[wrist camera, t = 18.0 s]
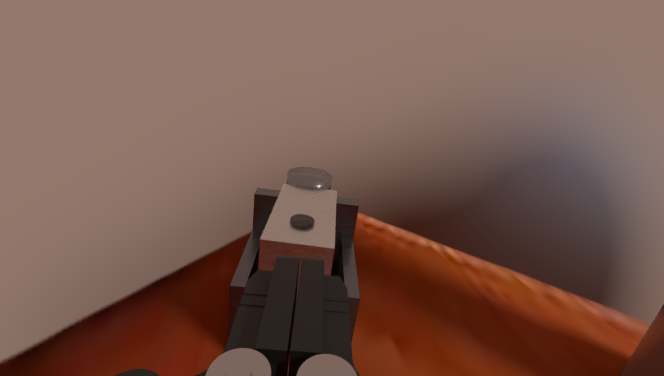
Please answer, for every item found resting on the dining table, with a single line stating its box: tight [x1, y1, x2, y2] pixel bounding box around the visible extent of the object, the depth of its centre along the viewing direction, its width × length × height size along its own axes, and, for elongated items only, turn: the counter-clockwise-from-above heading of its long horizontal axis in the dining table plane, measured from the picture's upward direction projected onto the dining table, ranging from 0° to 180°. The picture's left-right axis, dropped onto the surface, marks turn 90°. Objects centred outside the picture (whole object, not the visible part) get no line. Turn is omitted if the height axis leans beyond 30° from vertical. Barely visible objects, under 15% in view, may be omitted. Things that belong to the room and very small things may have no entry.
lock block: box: [258, 184, 337, 372], centre depth 30 cm, size 5×10×12 cm, turn 179°
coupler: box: [229, 167, 360, 341], centre depth 33 cm, size 10×12×12 cm
